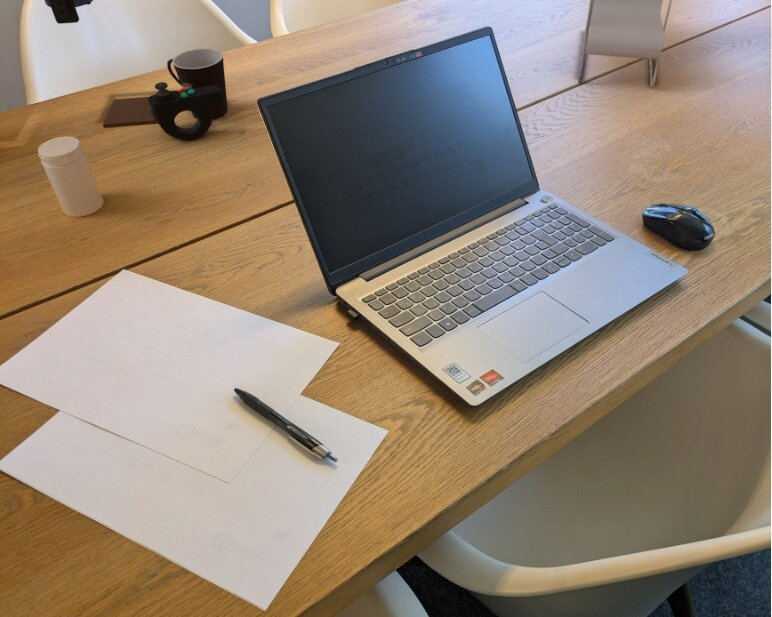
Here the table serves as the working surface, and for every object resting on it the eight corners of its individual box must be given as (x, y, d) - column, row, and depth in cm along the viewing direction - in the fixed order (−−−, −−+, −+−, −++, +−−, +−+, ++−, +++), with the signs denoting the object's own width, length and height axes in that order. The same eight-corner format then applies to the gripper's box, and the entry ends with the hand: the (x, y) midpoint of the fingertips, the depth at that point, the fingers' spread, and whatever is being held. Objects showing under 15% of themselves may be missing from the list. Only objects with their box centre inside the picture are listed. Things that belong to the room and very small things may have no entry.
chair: (649, 40, 138) (674, -64, 124) (652, 93, 121) (681, -21, 107) (584, 36, 141) (601, -66, 127) (577, 87, 123) (596, -25, 110)
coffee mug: (241, 114, 120) (230, 60, 113) (197, 128, 117) (183, 73, 110) (215, 91, 127) (204, 39, 120) (173, 104, 124) (159, 51, 117)
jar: (58, 218, 98) (30, 158, 91) (68, 196, 102) (42, 137, 95) (99, 215, 98) (75, 155, 91) (107, 193, 102) (85, 134, 95)
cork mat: (103, 127, 118) (102, 124, 118) (114, 102, 125) (113, 99, 125) (160, 123, 119) (159, 119, 118) (167, 98, 126) (166, 95, 125)
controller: (158, 137, 115) (142, 82, 108) (228, 123, 118) (216, 68, 111) (161, 149, 112) (144, 93, 105) (233, 134, 115) (221, 78, 108)
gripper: (36, -114, 81) (86, 33, 93) (72, -141, 93) (112, -8, 106) (-27, -111, 80) (32, 37, 93) (18, -138, 93) (65, -5, 105)
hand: (74, 12), depth 99 cm, fingers closed on jar lid, 6 cm apart
